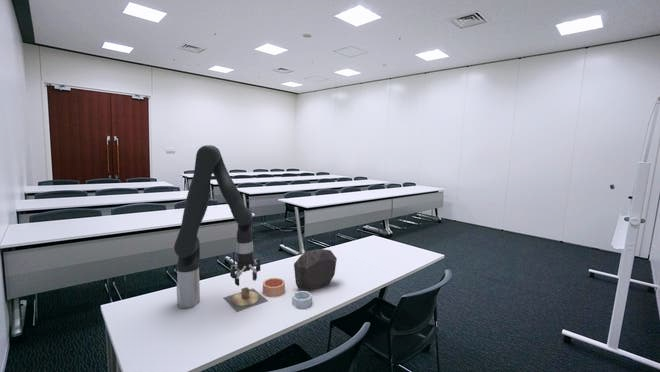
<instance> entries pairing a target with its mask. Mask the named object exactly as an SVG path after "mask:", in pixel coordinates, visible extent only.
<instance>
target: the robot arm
mask: <svg viewBox="0 0 660 372" xmlns="http://www.w3.org/2000/svg"><path fill="white" fill-rule="evenodd" d="M193 170H194V171H193V176H192V178H191V182H190V184H189V189H188V192H187V195H186V198H185V199H186V200H185V203H184V209H183V214H182V220H181V225H180V229H179V232H178V235H177V237H176V240H175V243H174V246H173V249H174V252H175V253H174V254H176V256H177V257H178V259H177V263H176V273H177V276H176V278H177V279H176V280H177V284H176V285H175V286H176V303H177V305H178V307H179V308H180V310H181V309H189V308H193V307H195V306H197V305H199V304H200V303H201V289H200V286H201V285H200V284H201V283H200V259H201V258H200V256H201V253H200V251H201V248H200V240H199V237H198V232H199V229H200V226H201V224H202V222H203V219H204V217H205V215H206V211H207V210H208V207H209V202H210V197H211V179H212V176H213V177H214V178H215V181H216V182H217V185H218V188H219V190H220V193H221V194H222V196H223V198H224V200H225V202H226V204H227V206H228V207H229V209H230V212H231V214H232V217H233V219H234V221H235V222H236V223H237V230H236V261H237V263H236V264H231V265H230V273H229V274H230V278H232V279H233V280H234V284H235V285H236V287H239V286H240V276H241V275H242V274H243V273H246V272H249V271H252V273H251V274H252V281H253V282H255V281H257V279H258V272H261V261H260V259H259V258H256V257H255V259H254V243H253V213H252V211H251V209H249V208H248V207H246V205H245V204H244V199H243V196H242V195H241V193H240V191H239V189H238V188H237V186H236V184H235V182H234V180H233V179H232V177H231V175H230V173H229V172H228V169H227V167H226V164H225V163H224V159H223V156H222V153H221V150H220V149H219V148H218V147H216V146H214V145H210V144H209V145H208V144H207V145H203V146H201V147H199V148H198V150H197V151H196V154H195V163H194V169H193ZM254 264H255V267H254Z"/></svg>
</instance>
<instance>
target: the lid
mask: <svg viewBox="0 0 660 372" xmlns="http://www.w3.org/2000/svg"><path fill="white" fill-rule="evenodd" d="M249 290H250V288H249V287H247V286H245V287H243V288H241V291H239V292H237V293H234V294H235V295H234V296H233V297H232V299H231V301H232V303H233V304H234V305H236V306H250V305H253V304H255V303H257V302H258V301H259V295H258V294H257V293H255V292H251V291H249Z"/></svg>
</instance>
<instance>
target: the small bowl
mask: <svg viewBox="0 0 660 372" xmlns="http://www.w3.org/2000/svg"><path fill="white" fill-rule="evenodd" d="M312 304H313V294H312V293H310V292H309V291H308V290H307V291H306V290H299V291H296V292H293V294H292V297H291V305H292V306H294V307H295V308H297V309H302V310H303V309H307V308H310V307H312Z"/></svg>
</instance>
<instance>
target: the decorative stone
mask: <svg viewBox="0 0 660 372" xmlns="http://www.w3.org/2000/svg"><path fill="white" fill-rule="evenodd" d="M336 266H337V257H336V256H335V254H334V253H333V252H332V250H331V249H325V248H317V249H313V250H312V249H311V250H306V251H304V252H303V253H302V254H301V255H300V256H299V257H298V259H297V260H296V261H295V262H294V263H293V268H294V269H293V270H294V278H295V285H296V287H297V288H298V289H299V290H301V289H302V290H307V291H308V290H309V291H312V290H317V289H320V288H323V287H326V286H327V287H328V286H329V285H330V284H331V281H332V280H333V278H334V276H335V274H336Z"/></svg>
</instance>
